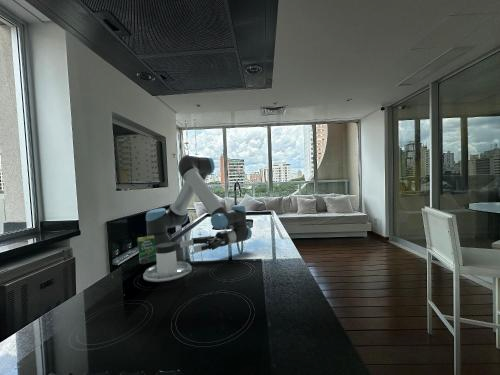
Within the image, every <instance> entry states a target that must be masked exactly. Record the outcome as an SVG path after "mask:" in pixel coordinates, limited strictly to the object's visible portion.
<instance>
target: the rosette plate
mask: <svg viewBox="0 0 500 375" xmlns="http://www.w3.org/2000/svg"><path fill="white" fill-rule="evenodd" d="M191 272H192V265H191V264H190V262H187V261H184V260H183V261H182V260H181V261H180V260H177V272H176V273H173V274H168V275H160V276H159V275H158V273H157V264H154V265H152V266H150V267H148V268H146V270H145V271H144V273H142V275H143V276H142V278H143V280H144V281H147V282H152V283H163V282H164V283H165V282H169V281H175V280H178V279H180V278H183V277H185V276H187V275H189V274H190V273H191Z"/></svg>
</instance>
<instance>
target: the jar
mask: <svg viewBox="0 0 500 375" xmlns="http://www.w3.org/2000/svg"><path fill="white" fill-rule="evenodd" d="M155 250H156V260H157V261H156V265H157V273H158V275H159V276H160V275H168V274H173V273H176V272H177V261H178V259H177V247H176V243H175V242H171V243H162V244H158V245H156V246H155Z"/></svg>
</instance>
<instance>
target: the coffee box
mask: <svg viewBox="0 0 500 375" xmlns="http://www.w3.org/2000/svg"><path fill="white" fill-rule="evenodd" d="M137 249H138V250H137V251H138V258H139V260H138V261H139V264H141V265H147V264H150V263H155V262H156V263H157V260H156V250H155V239H154V235H151V236H147V235H146V236H142V237H137Z"/></svg>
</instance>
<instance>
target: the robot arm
mask: <svg viewBox="0 0 500 375" xmlns="http://www.w3.org/2000/svg"><path fill="white" fill-rule="evenodd" d="M177 165H178V166H177V167H178V168H177V169H178V172H179V174H180V177H181V178H182V179H183V181H184V182H183V184H182V187H181V189H180V190H179V192H178V195H177V197H176V198H175V201H174V202H173V203H171V204H170V206H169V207H168V208H167V209H166V208H164V207H161V208H156V209H151V210H149V211H147V212H146V214H145V221H146V222H145V223H146V234H147V235H146V236H151V235H154V239H155V246H156V245H158V244H162V243H172V241H171V239H170V236H169V234H168V229H170V228H175V227H180V226H182V225H184V224H186V223H187V221H188V219H189V211H188V206H189V205H190V203H191V201H192V200H193V197H194V196H195V194H196V196H197V198H198V199H199V201H200V202H201V204H202V205H203V206H204V208H205V209H206V211H207V212H208V214H209V215H210V216H211V217H210V222H211V226H212V227H213V228H214V229H216V230H219V229H220V230H221V229H224V230H222V231H217V232H216V234H215V235H208V236H199V237H191V238H190V239H188V240H183V241H179V243H180V244H179V246H180V247H179V248H185V247H191V246H192V247H193V253H194V254H196V253H199V252H203V251H208V250H212V251H213V250H217V249H218V248H219V247H220V248H222V247H226V246H232V245H233V244H236V243H240V242H245V241H247V240H250V239H251V238H252V235H253V233H252V232H253V231H252V229H251V227H250V226H248V225H247V212H246V211H247V210H246V206H245V205H243V204H236V205H235V204H234V205H232V206H231V208H230V210H227V209H226V208H225V207H224V205H222V203H221V202H220V200H219V199H218V198H217V196H216V195H215V194H214V192H213V191H212V190H211V188H210V187H209V185H208V184H207V183H206V181H205V180H206V178H207V176H209V175H212V174H213V173H214V171H215V168H216V166H215V161H214V159H213V158H212V157H211V156H210V155H205V154H190V153H188V154H185V155H184V156H182V157H181V158H180V159H179V161H178V164H177ZM230 226H232V228H229V229H226V230H225V228H227V227H230ZM194 245H195V246H194Z"/></svg>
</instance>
